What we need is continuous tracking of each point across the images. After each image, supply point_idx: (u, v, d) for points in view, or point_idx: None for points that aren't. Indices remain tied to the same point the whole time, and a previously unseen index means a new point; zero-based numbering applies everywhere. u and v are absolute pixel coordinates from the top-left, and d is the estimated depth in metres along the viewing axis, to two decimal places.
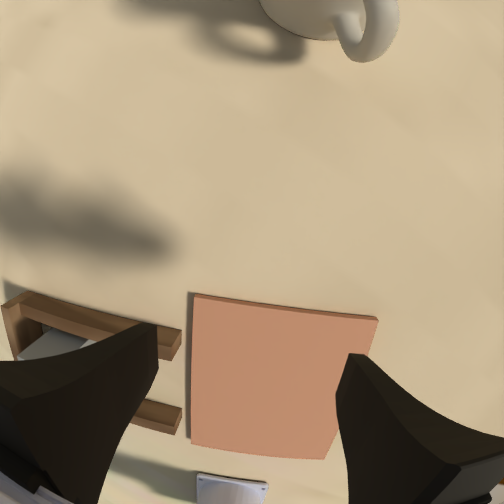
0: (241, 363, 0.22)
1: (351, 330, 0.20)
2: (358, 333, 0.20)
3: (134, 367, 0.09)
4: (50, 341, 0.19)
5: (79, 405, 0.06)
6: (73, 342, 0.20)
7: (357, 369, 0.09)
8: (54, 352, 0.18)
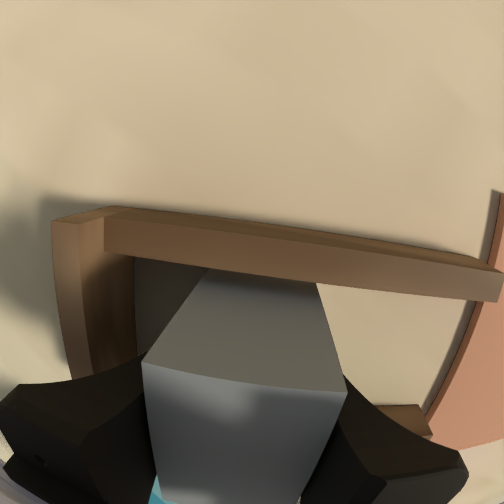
0: None
1: None
2: None
3: None
4: (227, 306, 0.08)
5: (135, 426, 0.06)
6: (293, 302, 0.09)
7: None
8: (271, 330, 0.07)
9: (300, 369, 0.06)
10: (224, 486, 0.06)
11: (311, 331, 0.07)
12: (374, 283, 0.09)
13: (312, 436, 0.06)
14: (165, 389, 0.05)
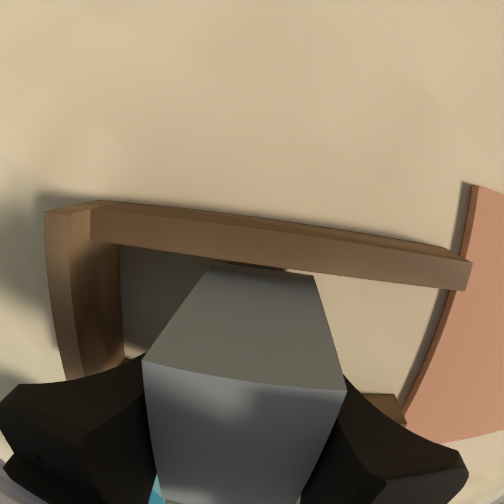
0: None
1: None
2: None
3: None
4: (227, 304, 0.08)
5: (136, 425, 0.06)
6: (293, 301, 0.09)
7: None
8: (271, 330, 0.07)
9: (300, 368, 0.06)
10: (224, 485, 0.06)
11: (311, 330, 0.08)
12: (333, 268, 0.10)
13: (312, 434, 0.06)
14: (166, 388, 0.06)
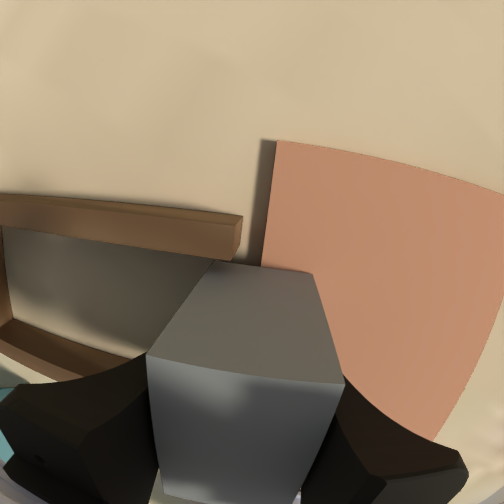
0: (352, 273, 0.12)
1: (500, 214, 0.11)
2: None
3: None
4: (228, 302, 0.09)
5: (135, 426, 0.06)
6: (293, 298, 0.09)
7: None
8: (271, 326, 0.08)
9: (300, 362, 0.06)
10: (225, 479, 0.07)
11: (310, 326, 0.08)
12: (86, 233, 0.11)
13: (312, 428, 0.06)
14: (169, 382, 0.06)
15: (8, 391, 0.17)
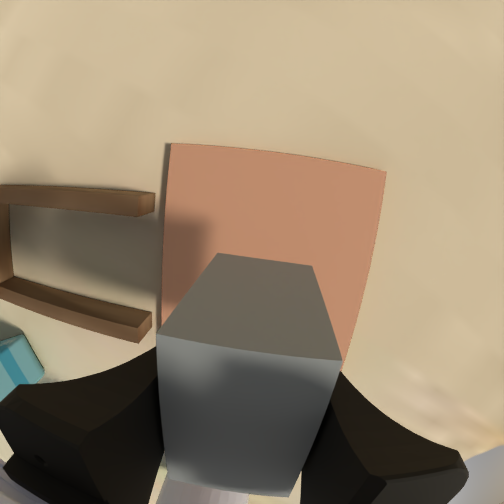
0: (224, 227, 0.18)
1: (355, 181, 0.17)
2: (364, 186, 0.17)
3: None
4: (232, 289, 0.09)
5: (136, 426, 0.06)
6: (293, 287, 0.10)
7: None
8: (272, 310, 0.08)
9: (300, 341, 0.07)
10: (229, 461, 0.07)
11: (309, 311, 0.08)
12: (61, 205, 0.17)
13: (312, 405, 0.06)
14: (177, 360, 0.06)
15: (5, 340, 0.23)
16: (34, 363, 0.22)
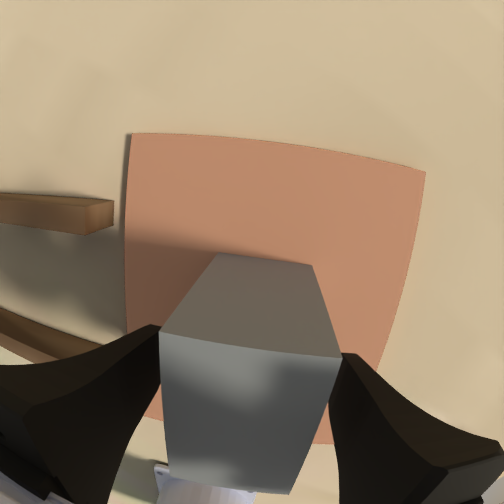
0: (202, 248, 0.13)
1: (386, 184, 0.12)
2: (398, 191, 0.12)
3: (143, 369, 0.09)
4: (233, 288, 0.09)
5: (89, 409, 0.06)
6: (293, 286, 0.10)
7: (348, 369, 0.09)
8: (273, 308, 0.08)
9: (300, 338, 0.07)
10: (230, 458, 0.07)
11: (310, 309, 0.08)
12: (4, 218, 0.12)
13: (312, 402, 0.06)
14: (180, 358, 0.06)
15: None
16: None
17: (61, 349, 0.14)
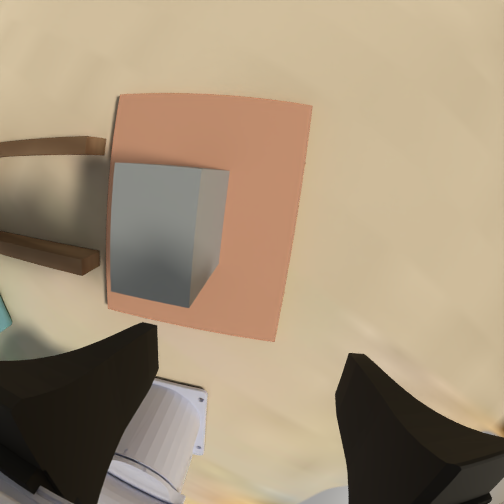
0: (159, 163, 0.19)
1: (280, 115, 0.17)
2: (290, 119, 0.17)
3: (134, 367, 0.09)
4: None
5: (80, 405, 0.06)
6: (204, 168, 0.16)
7: (357, 369, 0.09)
8: (181, 166, 0.14)
9: None
10: (146, 258, 0.13)
11: (203, 168, 0.14)
12: (29, 152, 0.17)
13: (189, 201, 0.12)
14: (123, 176, 0.12)
15: None
16: (2, 312, 0.23)
17: (57, 249, 0.20)
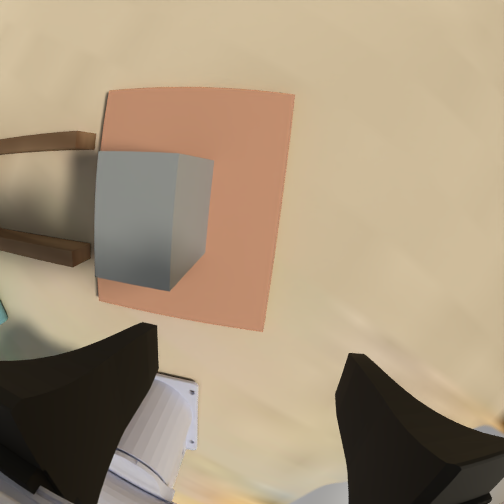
0: None
1: (263, 105, 0.17)
2: (272, 108, 0.17)
3: (134, 367, 0.09)
4: None
5: (80, 405, 0.06)
6: None
7: (357, 369, 0.09)
8: None
9: None
10: (128, 243, 0.13)
11: None
12: (22, 148, 0.17)
13: (167, 185, 0.12)
14: (106, 164, 0.12)
15: None
16: None
17: (49, 243, 0.20)
